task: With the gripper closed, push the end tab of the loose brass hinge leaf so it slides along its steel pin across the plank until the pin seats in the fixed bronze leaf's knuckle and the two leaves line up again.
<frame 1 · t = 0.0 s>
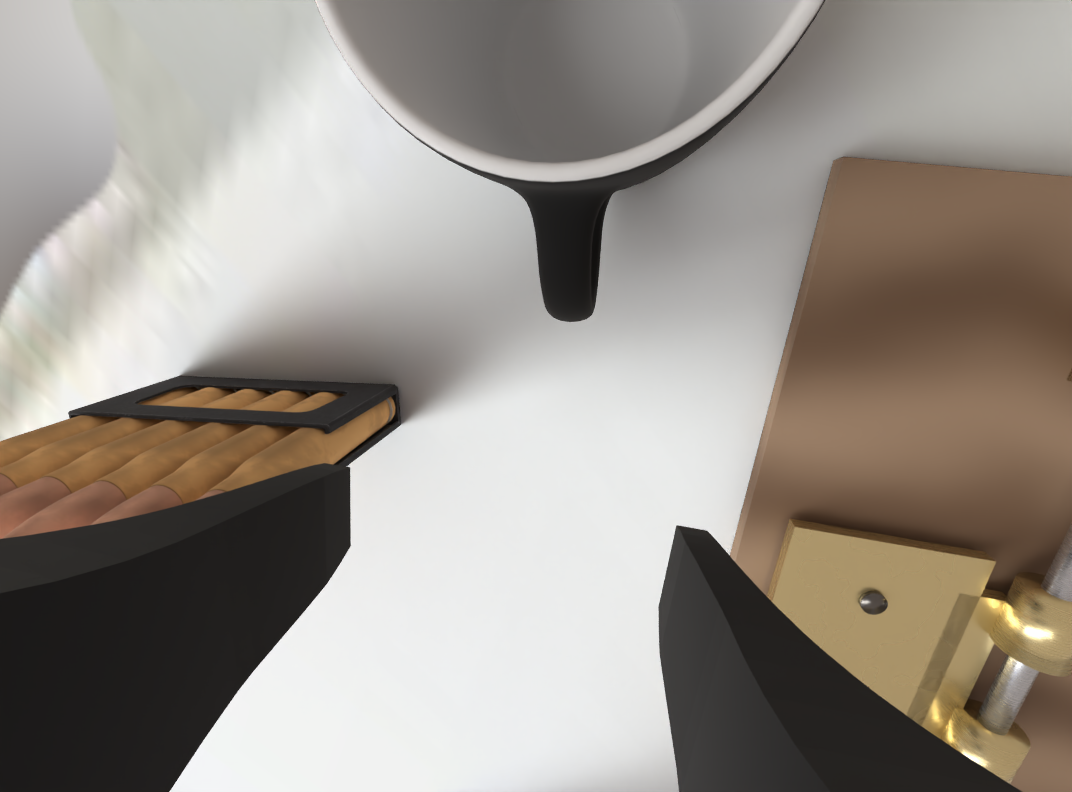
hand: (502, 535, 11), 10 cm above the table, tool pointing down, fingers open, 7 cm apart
plank: (1016, 543, 19), on the table
mug: (592, 124, 18), on the table
ammunition clip: (289, 398, 23), on the table
leaf: (918, 646, 18), point 3 cm above the table, slide at 6.0 cm
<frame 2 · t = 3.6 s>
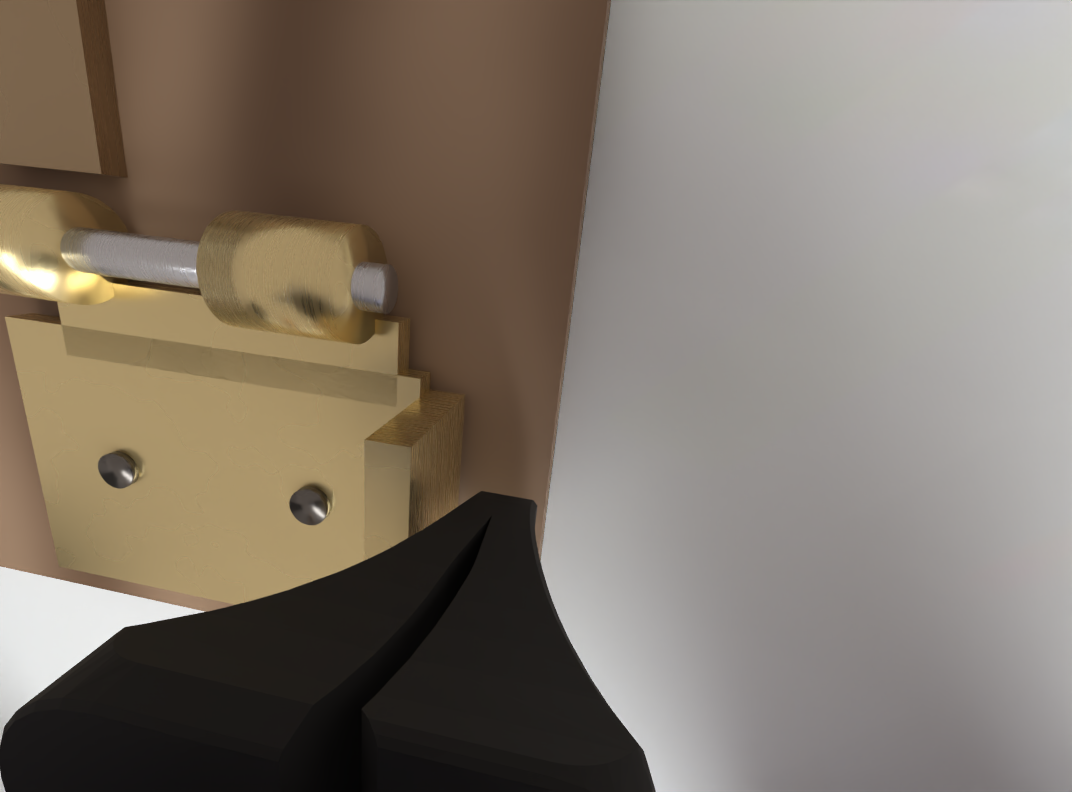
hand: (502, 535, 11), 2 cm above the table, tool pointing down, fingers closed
plank: (77, 236, 13), on the table
hinge base: (6, 231, 12), resting on plank
leaf: (110, 432, 11), point 3 cm above the table, slide at 5.7 cm, touching gripper
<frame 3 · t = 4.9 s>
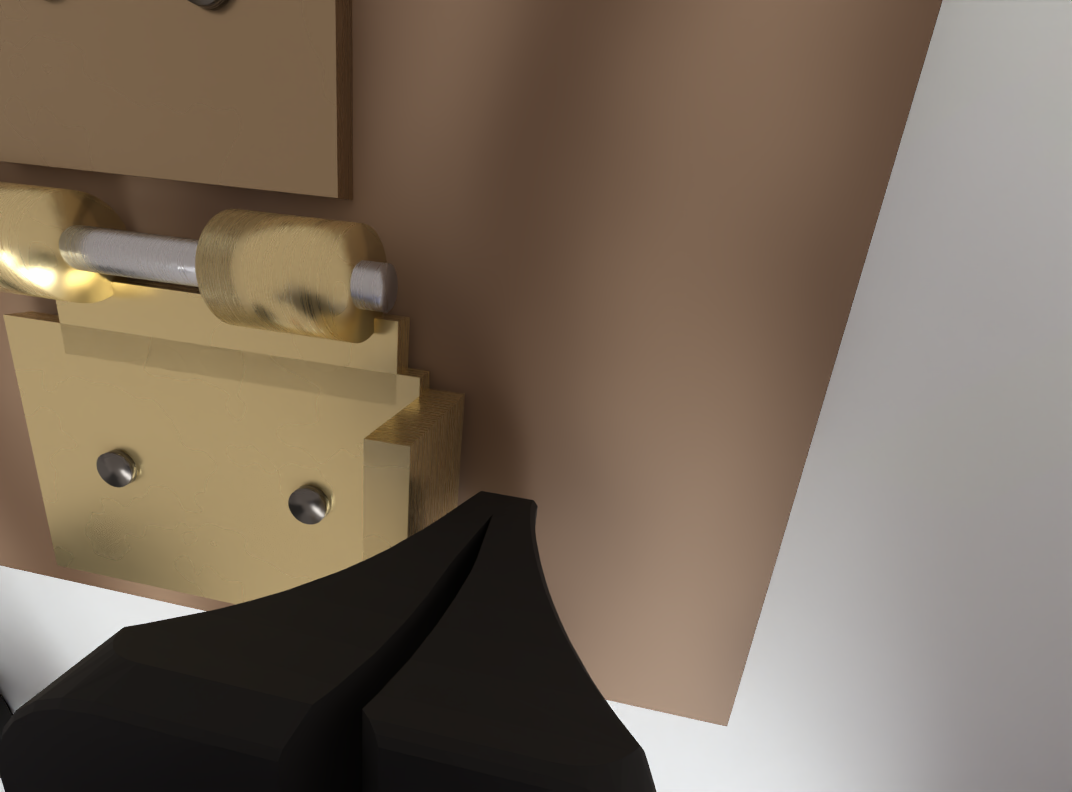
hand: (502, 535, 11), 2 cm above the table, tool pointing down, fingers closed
plank: (271, 259, 12), on the table
hinge base: (206, 255, 11), resting on plank
leaf: (109, 430, 11), point 3 cm above the table, slide at 0.4 cm, touching gripper
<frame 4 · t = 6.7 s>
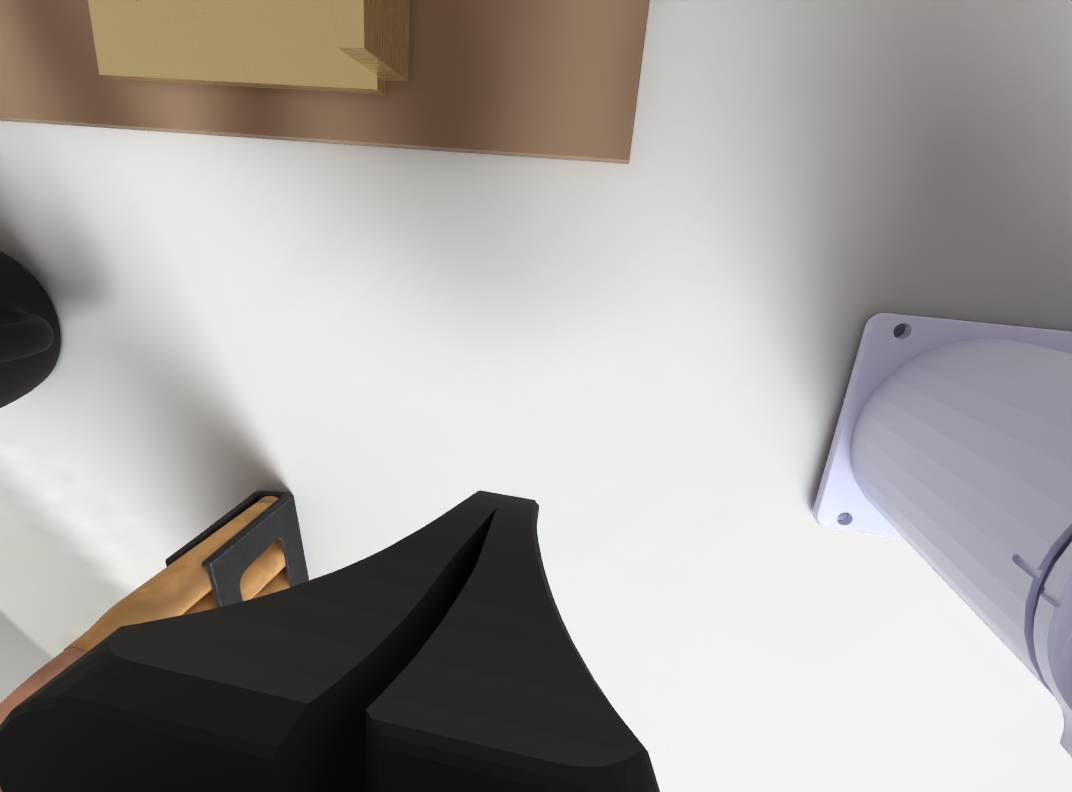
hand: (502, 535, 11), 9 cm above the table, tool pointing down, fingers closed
mug: (34, 318, 23), on the table
ammunition clip: (296, 586, 25), on the table
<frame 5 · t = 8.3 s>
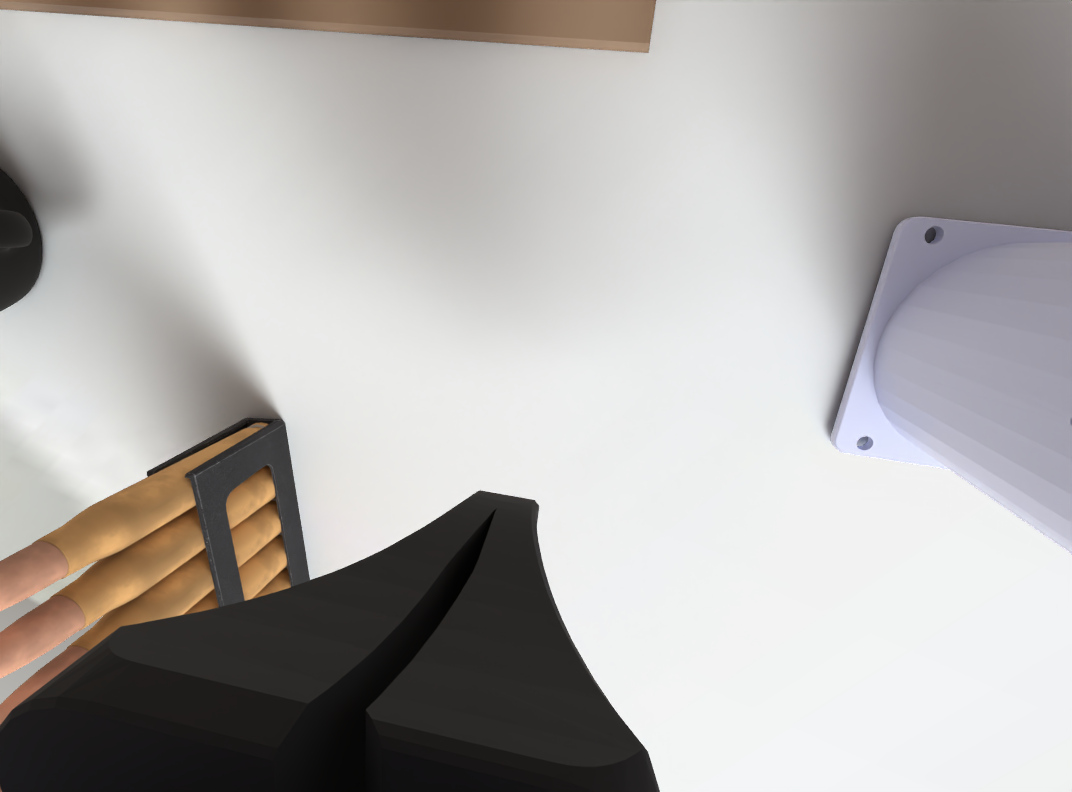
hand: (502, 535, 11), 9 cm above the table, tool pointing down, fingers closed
mug: (14, 229, 22), on the table
ammunition clip: (286, 523, 24), on the table
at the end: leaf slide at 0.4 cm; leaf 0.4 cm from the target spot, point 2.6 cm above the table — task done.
